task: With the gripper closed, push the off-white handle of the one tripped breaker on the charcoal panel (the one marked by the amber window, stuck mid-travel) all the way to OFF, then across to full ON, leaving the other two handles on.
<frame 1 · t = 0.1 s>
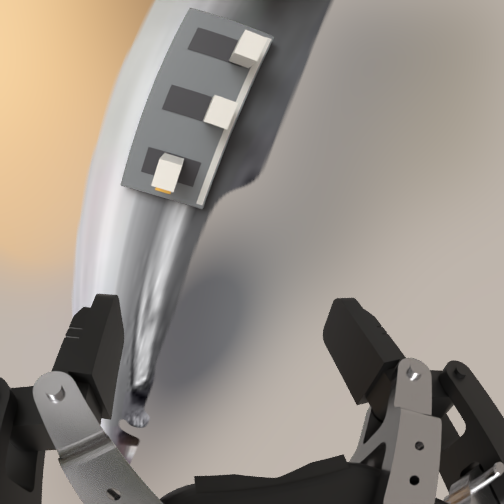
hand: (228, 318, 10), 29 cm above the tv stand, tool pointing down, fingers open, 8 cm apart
breaker c: (168, 171, 30), point 5 cm above the tv stand, slide at 0.0 cm
breaker panel: (193, 105, 32), on the tv stand
breaker a: (247, 50, 25), point 5 cm above the tv stand, slide at 3.0 cm
breaker b: (219, 112, 28), point 5 cm above the tv stand, slide at 3.0 cm
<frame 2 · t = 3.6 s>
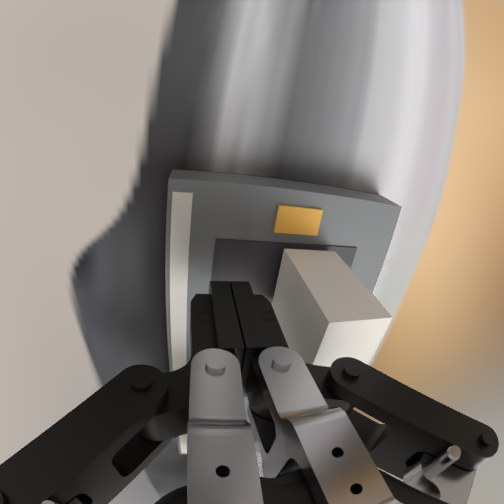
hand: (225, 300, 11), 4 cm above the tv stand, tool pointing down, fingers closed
breaker c: (322, 311, 11), point 5 cm above the tv stand, slide at -0.7 cm, touching gripper
breaker panel: (253, 359, 19), on the tv stand
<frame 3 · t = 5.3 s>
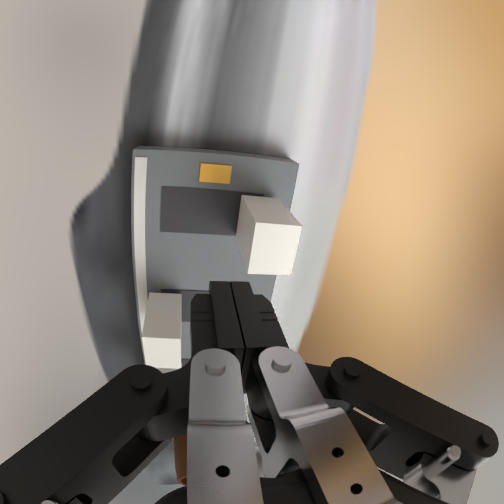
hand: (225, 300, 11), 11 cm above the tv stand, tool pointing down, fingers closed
breaker c: (264, 231, 17), point 5 cm above the tv stand, slide at -3.1 cm
breaker panel: (202, 292, 25), on the tv stand
mug: (199, 416, 34), on the tv stand
breaker a: (169, 391, 23), point 5 cm above the tv stand, slide at 3.0 cm
breaker b: (164, 329, 20), point 5 cm above the tv stand, slide at 3.0 cm
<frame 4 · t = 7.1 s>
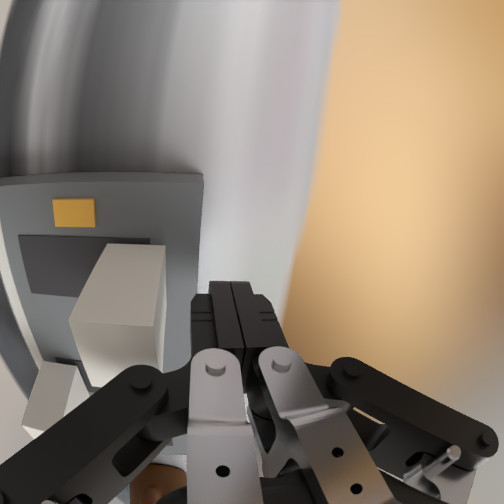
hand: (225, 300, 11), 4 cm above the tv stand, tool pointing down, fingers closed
breaker c: (128, 311, 10), point 5 cm above the tv stand, slide at -2.8 cm, touching gripper
breaker panel: (114, 357, 17), on the tv stand
mug: (155, 465, 26), on the tv stand
breaker b: (58, 409, 12), point 5 cm above the tv stand, slide at 3.0 cm
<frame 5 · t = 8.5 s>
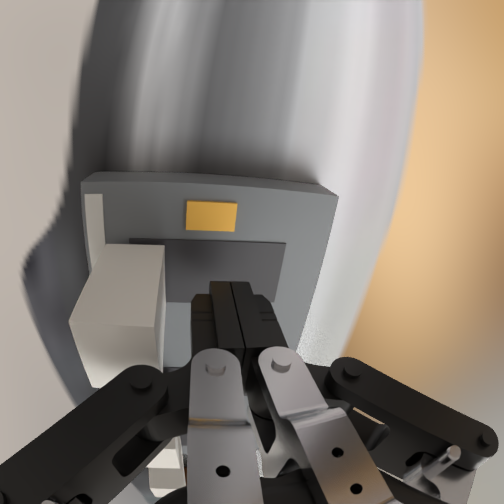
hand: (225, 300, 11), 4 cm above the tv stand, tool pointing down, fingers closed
breaker c: (128, 311, 10), point 5 cm above the tv stand, slide at 3.1 cm, touching gripper
breaker panel: (199, 360, 18), on the tv stand
breaker a: (167, 466, 17), point 5 cm above the tv stand, slide at 3.0 cm
breaker b: (153, 421, 13), point 5 cm above the tv stand, slide at 3.0 cm
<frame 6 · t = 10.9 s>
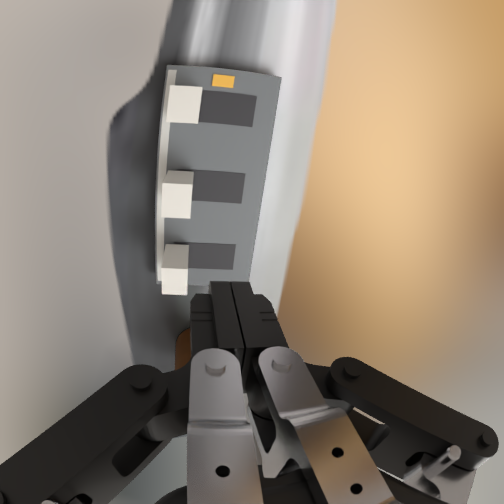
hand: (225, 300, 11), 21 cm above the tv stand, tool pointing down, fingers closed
breaker c: (185, 104, 21), point 5 cm above the tv stand, slide at 3.1 cm
breaker panel: (209, 181, 30), on the tv stand
mug: (200, 330, 40), on the tv stand
breaker a: (175, 268, 29), point 5 cm above the tv stand, slide at 3.0 cm
breaker b: (178, 192, 25), point 5 cm above the tv stand, slide at 3.0 cm
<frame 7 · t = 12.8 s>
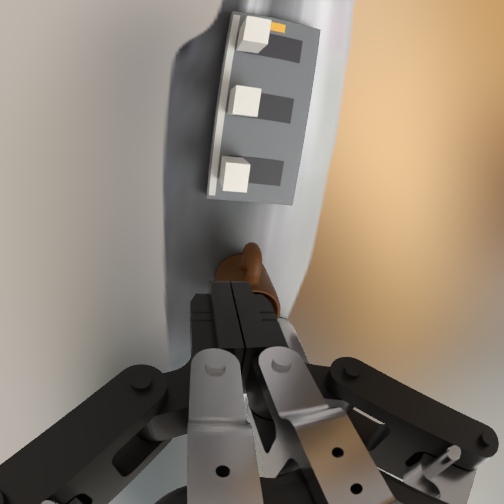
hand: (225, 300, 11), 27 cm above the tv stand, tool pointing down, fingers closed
breaker c: (252, 35, 24), point 5 cm above the tv stand, slide at 3.1 cm
breaker panel: (260, 107, 32), on the tv stand
mug: (240, 261, 42), on the tv stand
breaker a: (233, 173, 31), point 5 cm above the tv stand, slide at 3.0 cm
breaker b: (243, 102, 27), point 5 cm above the tv stand, slide at 3.0 cm
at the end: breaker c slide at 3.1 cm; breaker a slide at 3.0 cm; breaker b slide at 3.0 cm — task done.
